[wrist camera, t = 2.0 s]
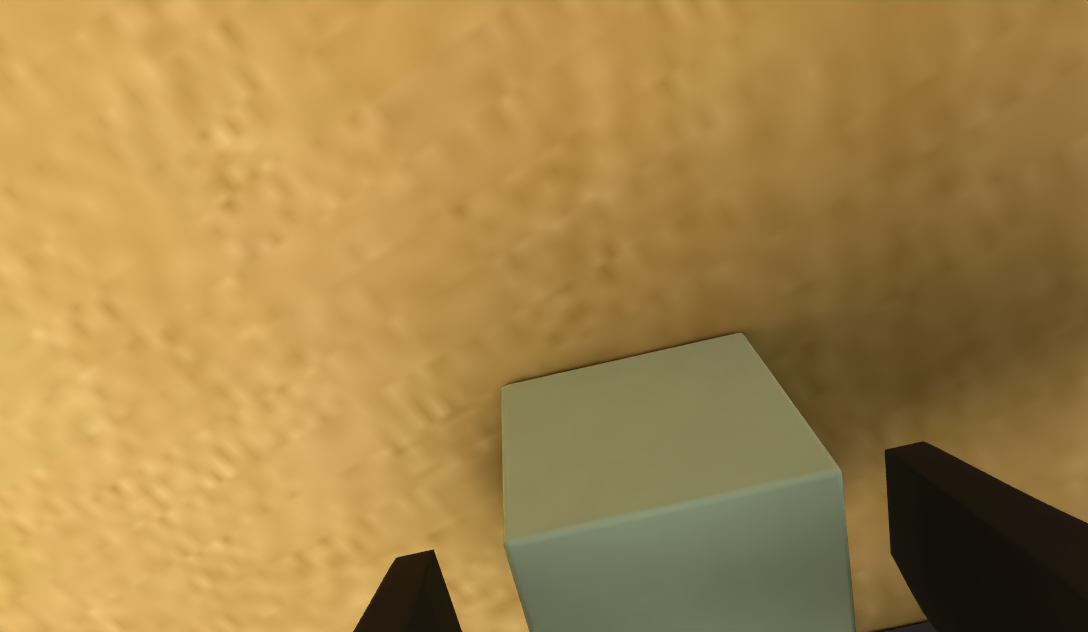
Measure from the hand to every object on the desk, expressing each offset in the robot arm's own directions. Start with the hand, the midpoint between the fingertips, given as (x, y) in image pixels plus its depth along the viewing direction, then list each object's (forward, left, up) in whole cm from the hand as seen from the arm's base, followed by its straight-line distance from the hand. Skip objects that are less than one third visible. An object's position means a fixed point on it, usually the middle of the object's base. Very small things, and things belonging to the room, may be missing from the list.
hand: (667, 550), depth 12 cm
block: (0, 0, -3) cm, 3 cm away
